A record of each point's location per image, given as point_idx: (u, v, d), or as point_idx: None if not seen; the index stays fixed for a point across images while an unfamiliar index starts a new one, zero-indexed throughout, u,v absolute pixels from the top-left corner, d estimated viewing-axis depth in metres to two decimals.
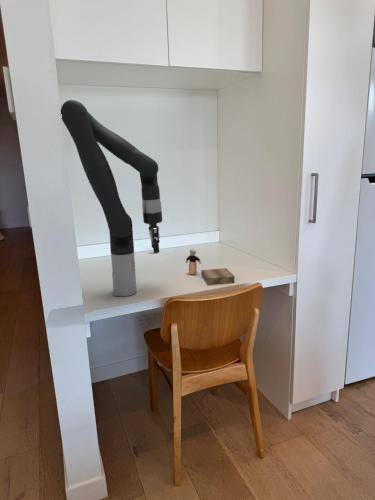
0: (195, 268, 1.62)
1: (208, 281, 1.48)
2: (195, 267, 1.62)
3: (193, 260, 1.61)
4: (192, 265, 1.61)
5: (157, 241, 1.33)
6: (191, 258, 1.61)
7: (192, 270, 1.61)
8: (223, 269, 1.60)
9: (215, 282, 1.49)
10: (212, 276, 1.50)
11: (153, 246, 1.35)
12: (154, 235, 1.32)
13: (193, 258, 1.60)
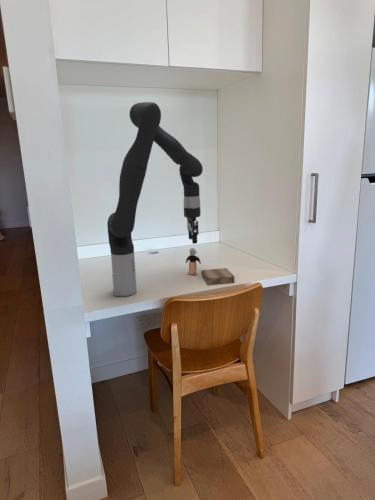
0: (195, 268, 1.62)
1: (208, 281, 1.48)
2: (195, 267, 1.62)
3: (193, 260, 1.61)
4: (192, 265, 1.61)
5: (196, 233, 1.51)
6: (191, 258, 1.61)
7: (192, 270, 1.61)
8: (223, 269, 1.60)
9: (215, 282, 1.49)
10: (212, 276, 1.50)
11: (192, 237, 1.54)
12: (194, 227, 1.51)
13: (193, 258, 1.60)
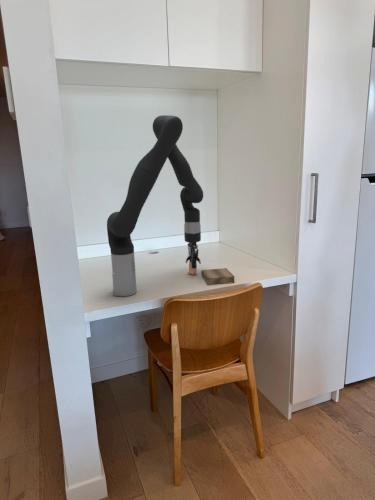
0: (195, 268, 1.62)
1: (208, 281, 1.48)
2: None
3: None
4: None
5: (196, 258, 1.57)
6: None
7: (192, 270, 1.61)
8: (223, 269, 1.60)
9: (215, 282, 1.49)
10: (212, 276, 1.50)
11: (191, 262, 1.60)
12: (194, 255, 1.55)
13: None
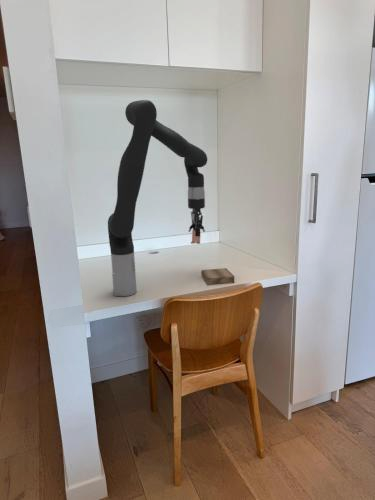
0: (199, 236, 1.57)
1: (208, 281, 1.48)
2: None
3: None
4: None
5: (200, 225, 1.52)
6: None
7: (196, 238, 1.56)
8: (223, 269, 1.60)
9: (215, 282, 1.49)
10: (212, 276, 1.50)
11: (195, 230, 1.54)
12: (198, 222, 1.50)
13: None
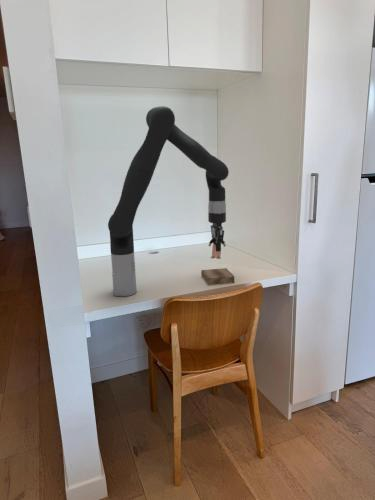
0: (219, 251, 1.51)
1: (208, 281, 1.48)
2: None
3: None
4: None
5: (221, 240, 1.46)
6: (215, 240, 1.50)
7: (216, 253, 1.50)
8: (223, 269, 1.60)
9: (215, 282, 1.49)
10: (212, 276, 1.50)
11: (216, 245, 1.49)
12: (219, 237, 1.45)
13: None
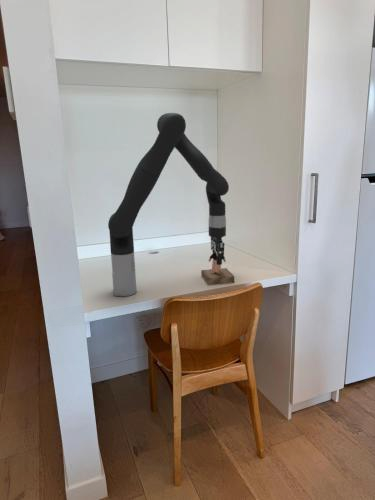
0: (219, 266, 1.53)
1: (208, 281, 1.48)
2: (219, 265, 1.53)
3: None
4: (216, 263, 1.52)
5: (222, 254, 1.46)
6: (216, 256, 1.52)
7: (216, 269, 1.52)
8: (223, 269, 1.60)
9: (215, 282, 1.49)
10: (212, 276, 1.50)
11: (217, 258, 1.49)
12: (220, 249, 1.45)
13: None
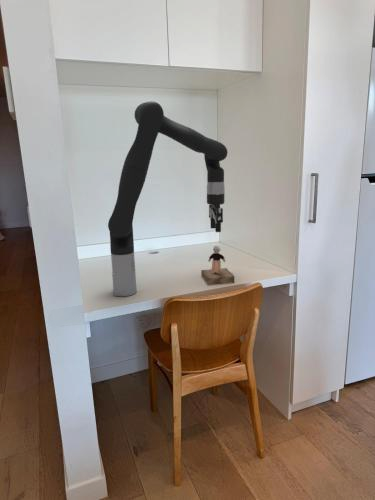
0: (219, 267, 1.53)
1: (208, 281, 1.48)
2: (219, 266, 1.53)
3: (217, 258, 1.52)
4: (216, 264, 1.52)
5: (221, 221, 1.43)
6: (215, 256, 1.52)
7: (216, 269, 1.52)
8: (223, 269, 1.60)
9: (215, 282, 1.49)
10: (212, 276, 1.50)
11: (216, 225, 1.45)
12: (218, 215, 1.42)
13: (217, 256, 1.52)
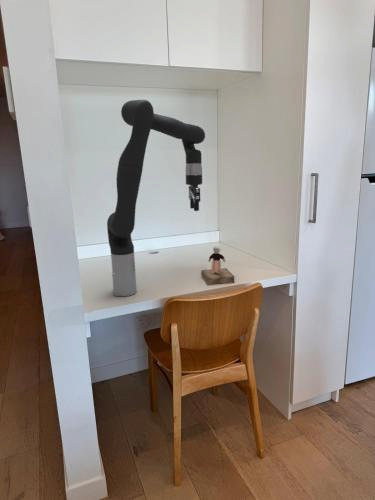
0: (219, 267, 1.53)
1: (208, 281, 1.48)
2: (219, 266, 1.53)
3: (217, 258, 1.52)
4: (216, 264, 1.52)
5: (198, 200, 1.52)
6: (215, 256, 1.52)
7: (216, 269, 1.52)
8: (223, 269, 1.60)
9: (215, 282, 1.49)
10: (212, 276, 1.50)
11: (194, 205, 1.55)
12: (196, 194, 1.51)
13: (217, 256, 1.52)
